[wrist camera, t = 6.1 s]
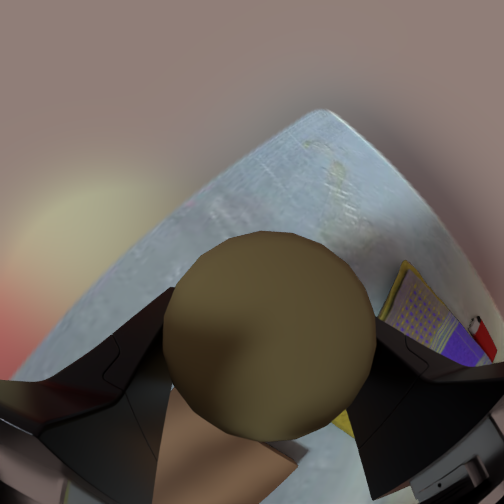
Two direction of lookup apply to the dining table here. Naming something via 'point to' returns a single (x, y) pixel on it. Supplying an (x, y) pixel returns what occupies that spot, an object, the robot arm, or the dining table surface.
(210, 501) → the walnut board
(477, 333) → the lighter
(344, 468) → the dining table surface
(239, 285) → the olive brown peg figure
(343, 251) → the dining table surface
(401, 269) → the dish towel
